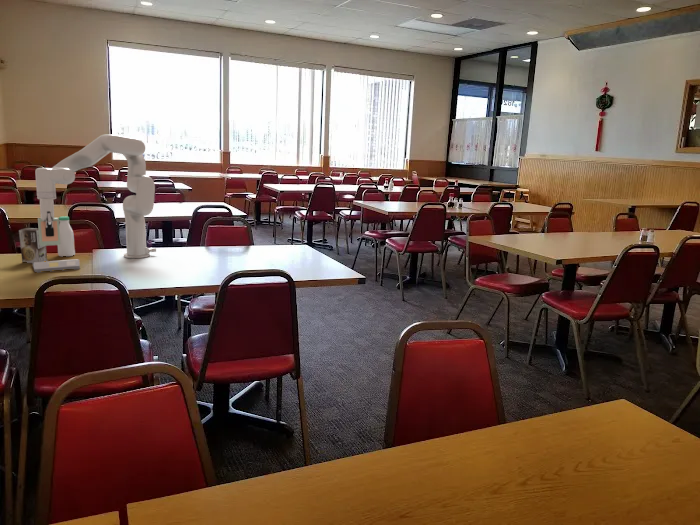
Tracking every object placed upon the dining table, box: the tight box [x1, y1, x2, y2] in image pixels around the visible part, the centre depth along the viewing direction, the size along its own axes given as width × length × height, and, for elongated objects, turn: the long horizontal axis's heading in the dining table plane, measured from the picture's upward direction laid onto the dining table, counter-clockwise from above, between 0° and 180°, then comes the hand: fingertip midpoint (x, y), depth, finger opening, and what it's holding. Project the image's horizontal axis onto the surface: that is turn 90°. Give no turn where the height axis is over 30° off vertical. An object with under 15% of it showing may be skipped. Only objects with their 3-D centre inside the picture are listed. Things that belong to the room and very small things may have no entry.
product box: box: [37, 217, 60, 247], centre depth 248 cm, size 5×8×12 cm, turn 123°
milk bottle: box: [57, 215, 76, 257], centre depth 277 cm, size 8×8×20 cm
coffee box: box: [18, 227, 48, 264], centre depth 261 cm, size 9×6×16 cm
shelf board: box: [32, 258, 81, 273], centre depth 251 cm, size 18×15×4 cm
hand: (49, 234), depth 248 cm, fingers closed on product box, 5 cm apart
